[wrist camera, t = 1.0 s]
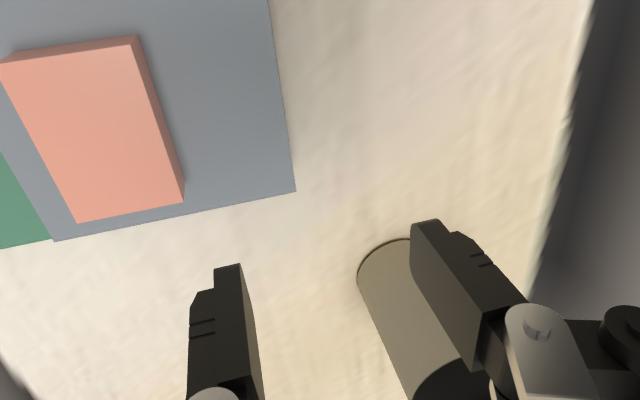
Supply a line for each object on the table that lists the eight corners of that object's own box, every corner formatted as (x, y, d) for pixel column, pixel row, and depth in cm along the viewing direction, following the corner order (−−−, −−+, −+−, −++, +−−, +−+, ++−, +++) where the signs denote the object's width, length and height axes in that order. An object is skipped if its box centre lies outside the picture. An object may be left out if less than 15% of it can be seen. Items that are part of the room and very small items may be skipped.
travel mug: (359, 306, 43) (440, 500, 28) (352, 249, 38) (446, 445, 24) (429, 286, 44) (544, 464, 29) (431, 229, 39) (568, 403, 25)
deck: (-43, -5, 22) (-87, 5, 19) (253, -42, 24) (261, -38, 21) (70, 208, 30) (54, 242, 26) (286, 165, 32) (296, 191, 29)
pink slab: (13, 52, 20) (-9, 64, 18) (137, 34, 21) (130, 44, 19) (87, 200, 25) (77, 223, 23) (185, 181, 26) (183, 202, 24)
